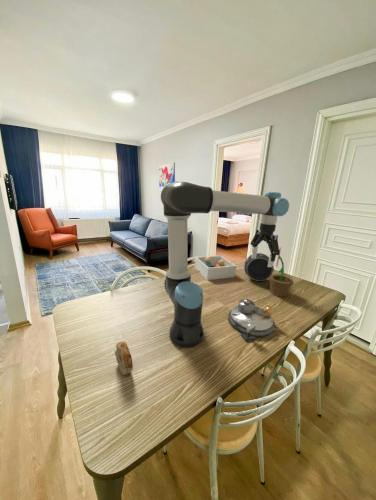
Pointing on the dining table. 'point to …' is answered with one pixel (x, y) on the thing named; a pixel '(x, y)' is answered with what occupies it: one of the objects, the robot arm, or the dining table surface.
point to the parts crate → (215, 268)
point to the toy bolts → (208, 264)
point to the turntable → (254, 318)
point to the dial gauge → (248, 337)
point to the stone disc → (123, 358)
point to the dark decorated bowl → (258, 267)
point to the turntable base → (256, 334)
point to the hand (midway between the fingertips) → (261, 262)
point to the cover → (246, 306)
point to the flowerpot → (280, 282)
